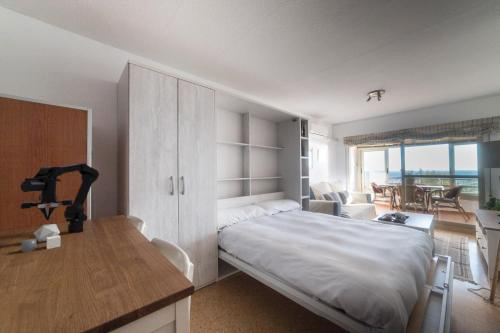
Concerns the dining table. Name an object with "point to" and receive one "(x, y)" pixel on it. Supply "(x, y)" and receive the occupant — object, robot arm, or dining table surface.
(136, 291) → the dining table surface
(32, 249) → the grey rounded piece
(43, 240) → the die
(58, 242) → the cream block
